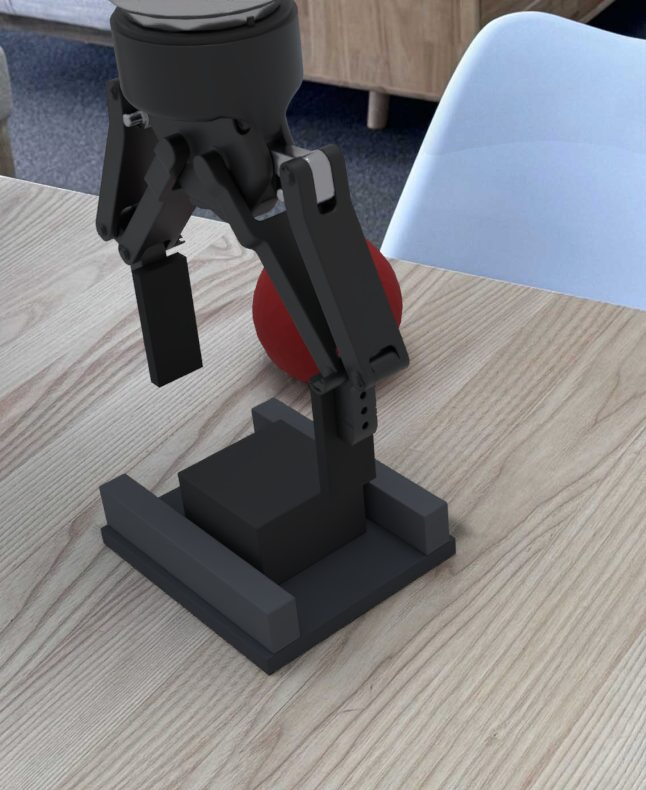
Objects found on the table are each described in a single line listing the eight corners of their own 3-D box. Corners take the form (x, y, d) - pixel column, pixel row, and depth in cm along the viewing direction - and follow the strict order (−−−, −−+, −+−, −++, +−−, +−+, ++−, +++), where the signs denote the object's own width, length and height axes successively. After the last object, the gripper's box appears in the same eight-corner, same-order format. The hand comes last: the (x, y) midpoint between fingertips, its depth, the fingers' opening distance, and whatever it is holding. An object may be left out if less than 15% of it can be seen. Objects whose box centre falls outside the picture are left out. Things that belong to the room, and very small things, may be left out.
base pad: (103, 542, 73) (90, 489, 71) (285, 444, 80) (279, 393, 78) (269, 675, 64) (260, 619, 63) (456, 553, 72) (453, 498, 70)
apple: (272, 328, 91) (254, 187, 85) (411, 327, 91) (402, 185, 85) (249, 408, 83) (228, 258, 77) (401, 406, 83) (391, 256, 77)
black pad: (187, 535, 72) (176, 472, 69) (288, 479, 75) (280, 418, 73) (266, 593, 68) (256, 528, 66) (367, 531, 72) (361, 468, 69)
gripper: (487, 51, 51) (493, 503, 63) (111, -80, 66) (174, 308, 78) (329, 109, 47) (368, 584, 59) (-37, -45, 61) (54, 361, 73)
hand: (258, 428), depth 68 cm, fingers open, 13 cm apart
